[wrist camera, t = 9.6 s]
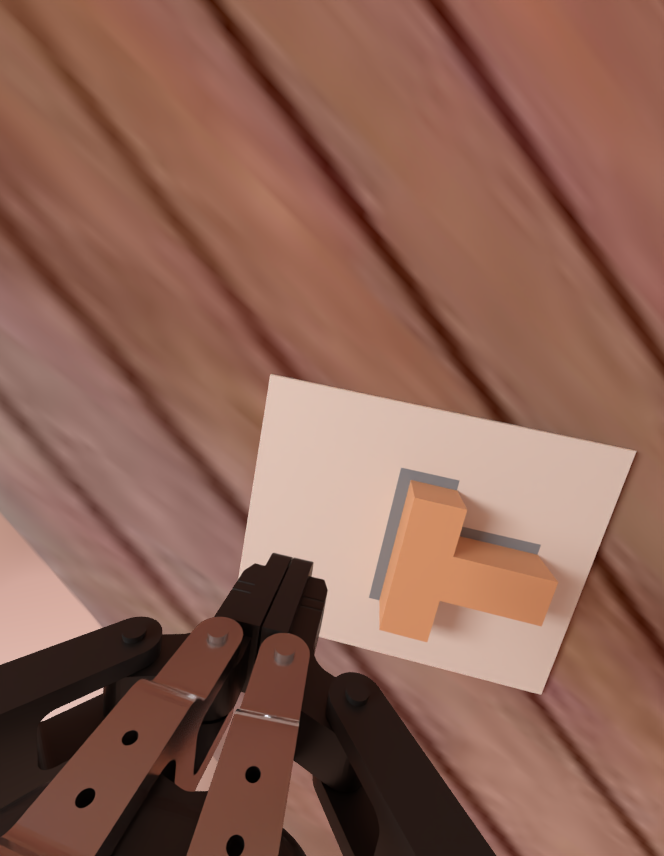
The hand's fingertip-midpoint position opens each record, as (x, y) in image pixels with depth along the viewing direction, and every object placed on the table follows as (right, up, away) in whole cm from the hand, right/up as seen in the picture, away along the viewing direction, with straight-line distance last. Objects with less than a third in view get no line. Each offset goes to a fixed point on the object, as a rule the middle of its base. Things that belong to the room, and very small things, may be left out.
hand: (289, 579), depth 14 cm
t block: (+13, -6, +20) cm, 25 cm away
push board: (+9, -5, +21) cm, 23 cm away
